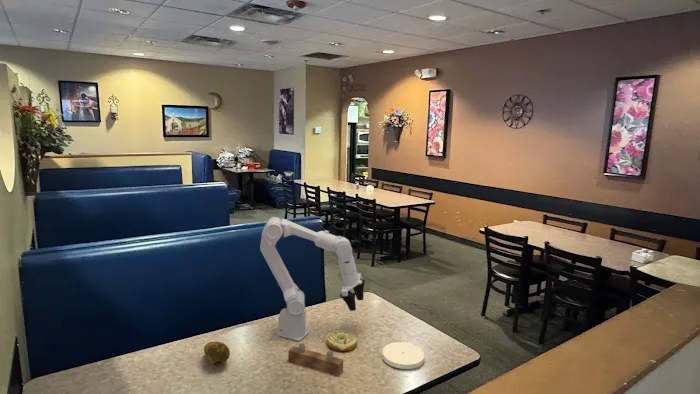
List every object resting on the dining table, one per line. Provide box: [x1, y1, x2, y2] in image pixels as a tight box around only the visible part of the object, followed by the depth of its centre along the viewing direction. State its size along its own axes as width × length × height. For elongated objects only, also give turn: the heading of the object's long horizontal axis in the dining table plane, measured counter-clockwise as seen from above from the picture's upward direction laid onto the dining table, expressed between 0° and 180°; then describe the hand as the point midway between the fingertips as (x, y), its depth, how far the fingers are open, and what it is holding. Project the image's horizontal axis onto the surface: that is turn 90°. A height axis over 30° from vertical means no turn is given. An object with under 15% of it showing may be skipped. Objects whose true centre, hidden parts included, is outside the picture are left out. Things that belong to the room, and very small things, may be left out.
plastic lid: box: [381, 341, 425, 370], centre depth 139 cm, size 14×14×2 cm
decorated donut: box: [325, 329, 358, 352], centre depth 147 cm, size 10×11×4 cm
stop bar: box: [287, 343, 344, 377], centre depth 133 cm, size 18×3×6 cm, turn 67°
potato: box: [203, 341, 231, 366], centre depth 132 cm, size 8×13×8 cm, turn 13°
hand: (356, 304), depth 153 cm, fingers open, 7 cm apart
